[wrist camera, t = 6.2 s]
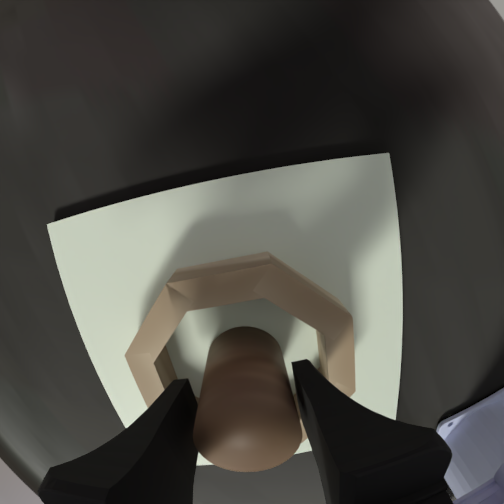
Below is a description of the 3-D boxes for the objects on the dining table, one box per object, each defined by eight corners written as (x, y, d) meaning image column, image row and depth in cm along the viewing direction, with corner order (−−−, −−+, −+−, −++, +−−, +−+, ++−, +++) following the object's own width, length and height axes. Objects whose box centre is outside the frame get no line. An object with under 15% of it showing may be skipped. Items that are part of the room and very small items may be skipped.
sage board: (383, 153, 13) (389, 152, 12) (391, 421, 16) (394, 426, 16) (53, 222, 13) (46, 224, 12) (150, 459, 16) (148, 465, 16)
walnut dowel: (277, 320, 14) (298, 391, 8) (286, 383, 14) (304, 464, 9) (200, 331, 14) (180, 405, 8) (215, 393, 14) (206, 474, 9)
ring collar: (331, 239, 13) (346, 248, 11) (345, 406, 15) (355, 430, 13) (120, 279, 13) (102, 294, 11) (179, 432, 15) (173, 457, 13)
